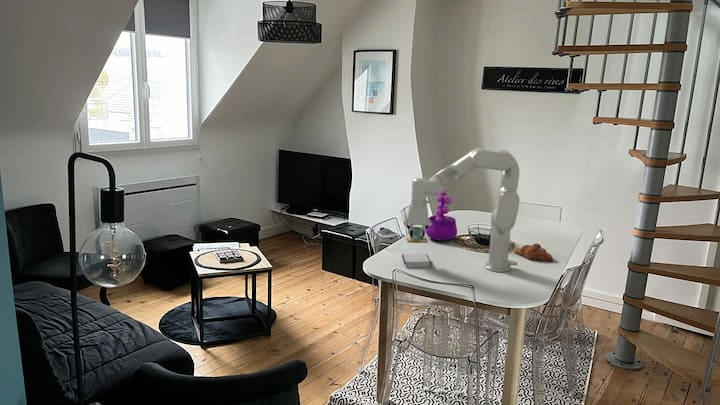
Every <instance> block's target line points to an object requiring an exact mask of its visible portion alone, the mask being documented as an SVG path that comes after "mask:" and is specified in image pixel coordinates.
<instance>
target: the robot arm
mask: <svg viewBox="0 0 720 405" xmlns="http://www.w3.org/2000/svg"><path fill="white" fill-rule="evenodd" d="M479 168H480V169H486V170H496V171H500V173H501V174H500V182H499V187H498V189H497V195H496V199H497V202H498V203H497V204H498V205H497V207H496V208H495V209H493V211H492V213H491V218H490V239H489V249H488V250H489V251H488V261H487V262H486V263H484V267H485V269H487V270H488V271H492V272H496V273H505V272H509V271H510V270H511V266H517V265H518V261H514V260H510V259H509V251H510V242H511V231H512V229H513V228H514V227H515V224H516V220H517V216H518V212H519V207H520V202H521V201H520V196H519V194H518V186H519V180H520V167H519V164H518V161H517V160H516V158H515V156H514V155H513V154H512V153H510V152H509V151H507V150H505V149H501V150H497V151H492V150H491V151H490V150H486V149H485V148H482V147H476V148H474V149H472V150H471V151H469V152H468V153H467V154H465V155H464V156H462V157H460V158H459V159H457V161H455V162H453V163H452V164H449V165H448V166H447V167H445V168H443V169H441V170H440V171H439V172H437V173H436V174H434V175H433V176H432V177H430V178H429V179H428V180H427V179H426V178H422V177H421V178H420V177H416V178H413V180H412V183H411V200H410V203H411V204H409V206H408V210H407V211H408V213H407V218H406V219H405V220H404V221H403V222H402V223H403V225H404V226H405V227H406V228H408V230H409V233H408V234H409V236H410V237H411V238H412V237H413V230H412V228H413V227H414V226H421V227H422V228H423V238H424V237H426V233H425V230H426V229H427V228H428V227H429V226H431V225H432V223H431V221H430V220H429V219H428V218H429V208H428V204H430V200H427V197H428V196H427V195H431V196H438V195H440V193H441V192H442V190H444V187H445V186H446V185H448V184H449V183H451V182H453V181H455V180H459V179H462V178H463V179H464V177H467V176H468V175H469V174H471V173H473V172H474V171H475V170H477V169H479Z"/></svg>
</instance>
